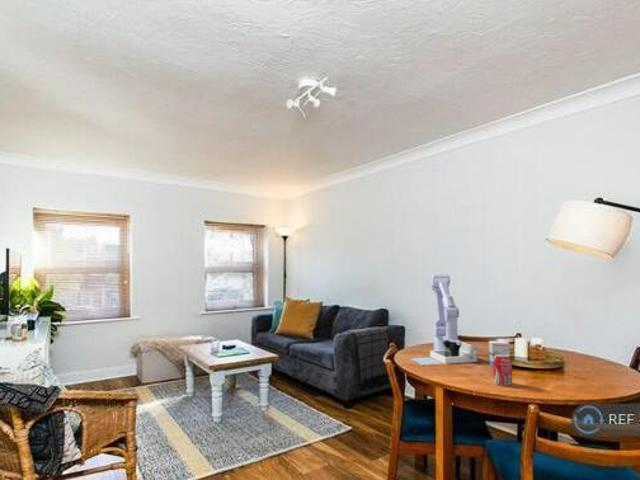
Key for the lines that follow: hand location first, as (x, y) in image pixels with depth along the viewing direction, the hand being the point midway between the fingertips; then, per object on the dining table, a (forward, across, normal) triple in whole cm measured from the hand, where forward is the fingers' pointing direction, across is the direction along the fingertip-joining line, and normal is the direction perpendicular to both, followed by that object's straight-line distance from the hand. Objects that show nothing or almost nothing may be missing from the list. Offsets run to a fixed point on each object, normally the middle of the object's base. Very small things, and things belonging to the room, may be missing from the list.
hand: (452, 356), depth 206 cm
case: (+2, +1, +1) cm, 2 cm away
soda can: (+2, +41, -2) cm, 41 cm away
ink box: (+2, +16, +16) cm, 23 cm away
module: (+1, 0, 0) cm, 1 cm away
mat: (+2, 0, -15) cm, 15 cm away
